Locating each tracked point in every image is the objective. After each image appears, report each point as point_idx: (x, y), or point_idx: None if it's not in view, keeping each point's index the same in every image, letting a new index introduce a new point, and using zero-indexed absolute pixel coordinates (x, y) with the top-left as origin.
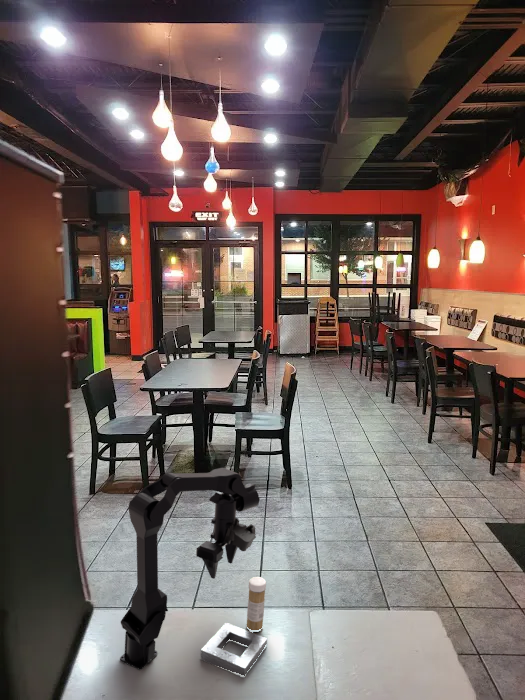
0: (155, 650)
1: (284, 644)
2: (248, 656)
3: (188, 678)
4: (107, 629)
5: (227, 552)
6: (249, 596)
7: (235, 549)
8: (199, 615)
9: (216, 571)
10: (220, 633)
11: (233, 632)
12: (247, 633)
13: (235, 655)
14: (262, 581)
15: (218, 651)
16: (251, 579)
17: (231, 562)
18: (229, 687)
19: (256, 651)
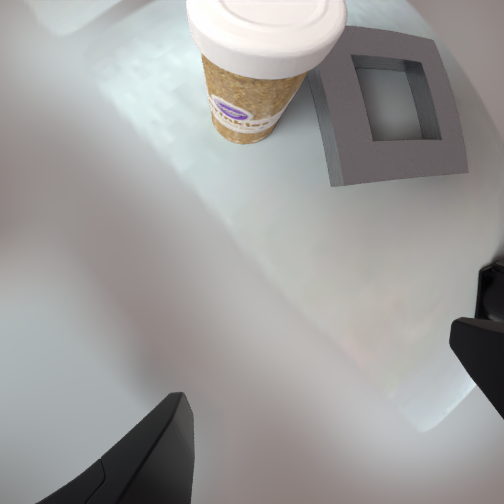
0: (481, 279)
1: None
2: (404, 43)
3: (487, 161)
4: (453, 396)
5: (184, 495)
6: (305, 75)
7: (119, 492)
8: (319, 316)
9: (495, 331)
10: (399, 164)
11: (367, 127)
12: (335, 83)
13: (426, 75)
14: None
15: (447, 125)
16: (293, 36)
17: (182, 397)
18: (452, 70)
19: (375, 30)
